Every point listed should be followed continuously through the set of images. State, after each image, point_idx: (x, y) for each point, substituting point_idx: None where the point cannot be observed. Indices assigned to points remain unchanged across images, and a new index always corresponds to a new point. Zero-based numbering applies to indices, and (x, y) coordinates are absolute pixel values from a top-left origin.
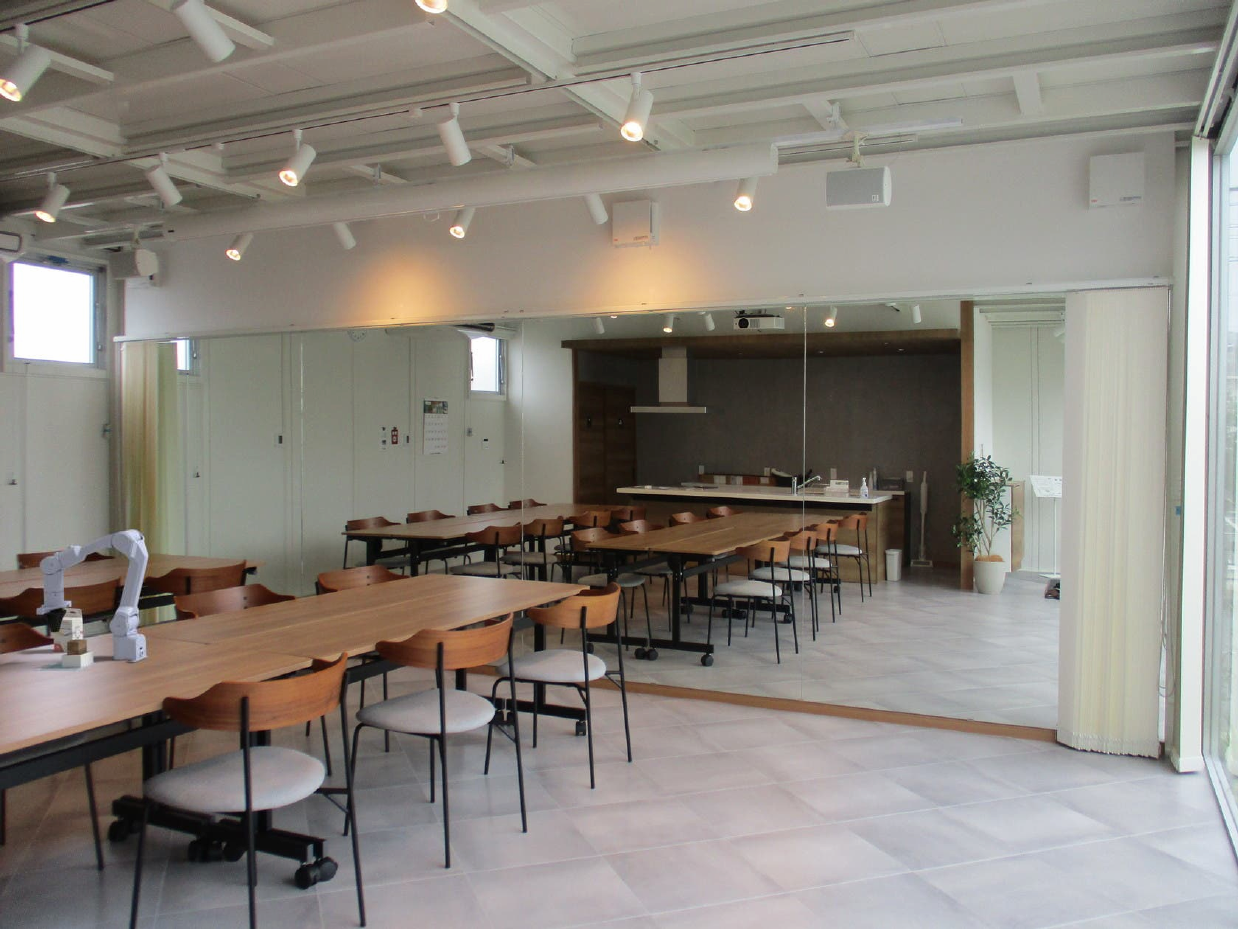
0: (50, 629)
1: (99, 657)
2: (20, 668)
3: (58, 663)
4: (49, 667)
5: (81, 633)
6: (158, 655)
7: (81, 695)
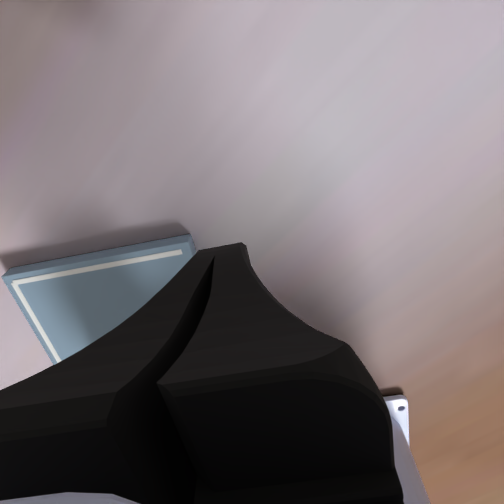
0: (188, 266)
1: (399, 301)
2: (42, 61)
3: (165, 272)
4: (82, 297)
5: None
6: (445, 480)
7: None
